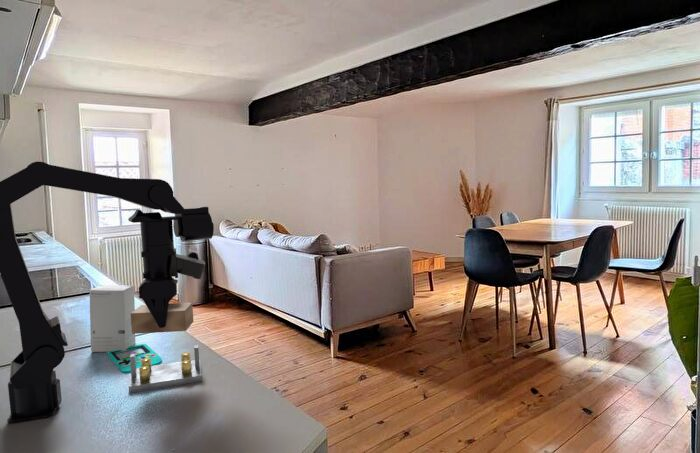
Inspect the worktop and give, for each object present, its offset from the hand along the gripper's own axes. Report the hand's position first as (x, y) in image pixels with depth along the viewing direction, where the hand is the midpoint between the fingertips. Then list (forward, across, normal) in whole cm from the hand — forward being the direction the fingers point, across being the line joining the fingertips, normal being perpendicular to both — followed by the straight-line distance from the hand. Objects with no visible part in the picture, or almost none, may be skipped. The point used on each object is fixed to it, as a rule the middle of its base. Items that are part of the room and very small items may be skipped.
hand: (163, 322), depth 91 cm
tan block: (+1, 0, 0) cm, 1 cm away
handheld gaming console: (+12, +14, +7) cm, 20 cm away
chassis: (+12, 0, 0) cm, 12 cm away
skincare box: (+12, +23, +12) cm, 29 cm away
